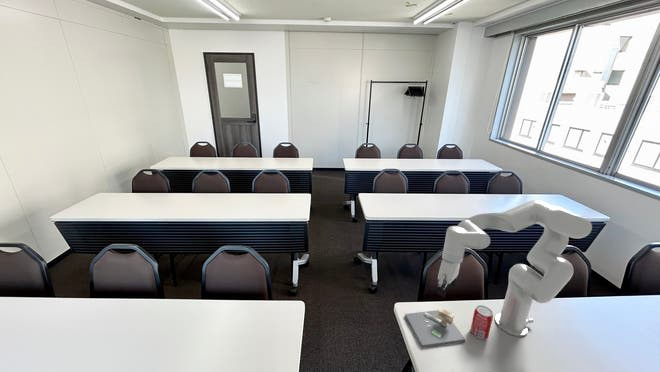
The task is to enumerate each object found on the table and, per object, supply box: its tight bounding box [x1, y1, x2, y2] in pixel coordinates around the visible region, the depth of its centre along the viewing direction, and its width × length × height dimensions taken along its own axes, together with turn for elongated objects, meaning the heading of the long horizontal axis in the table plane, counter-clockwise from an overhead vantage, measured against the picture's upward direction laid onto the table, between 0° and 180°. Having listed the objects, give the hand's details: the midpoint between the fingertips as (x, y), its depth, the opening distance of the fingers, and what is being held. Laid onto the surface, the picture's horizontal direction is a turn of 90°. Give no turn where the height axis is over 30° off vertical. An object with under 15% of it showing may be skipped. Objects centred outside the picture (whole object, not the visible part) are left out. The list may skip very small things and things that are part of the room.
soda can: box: [470, 304, 494, 340], centre depth 116 cm, size 7×7×13 cm
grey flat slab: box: [404, 309, 466, 349], centre depth 120 cm, size 20×17×2 cm
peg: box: [424, 307, 455, 326], centre depth 121 cm, size 12×3×7 cm, turn 49°
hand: (446, 289), depth 113 cm, fingers open, 9 cm apart
